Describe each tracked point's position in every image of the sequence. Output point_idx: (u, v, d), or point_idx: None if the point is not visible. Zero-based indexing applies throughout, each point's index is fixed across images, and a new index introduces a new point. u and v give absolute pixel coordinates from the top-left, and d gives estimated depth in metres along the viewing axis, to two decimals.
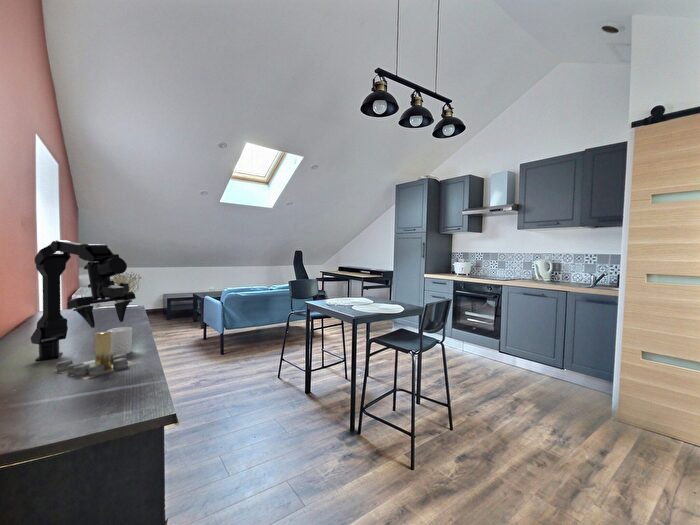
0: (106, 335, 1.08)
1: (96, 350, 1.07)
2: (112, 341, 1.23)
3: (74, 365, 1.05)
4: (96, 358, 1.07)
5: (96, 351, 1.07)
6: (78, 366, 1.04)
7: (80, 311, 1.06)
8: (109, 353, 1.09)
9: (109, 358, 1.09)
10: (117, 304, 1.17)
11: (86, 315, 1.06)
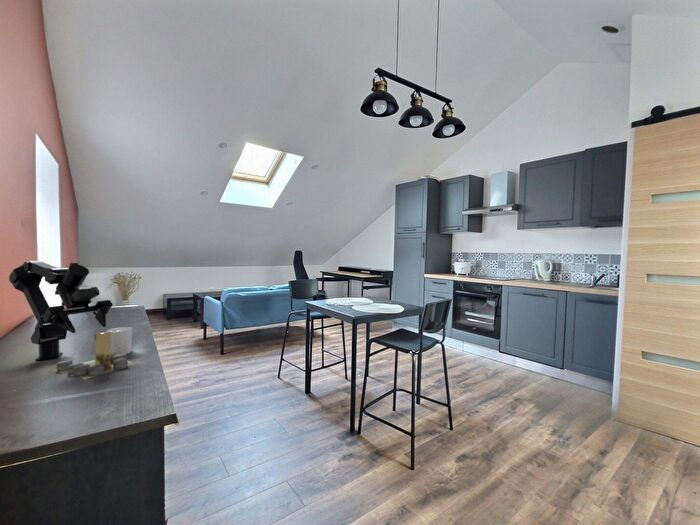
0: (106, 335, 1.08)
1: (96, 350, 1.07)
2: (112, 341, 1.23)
3: (74, 365, 1.05)
4: (96, 358, 1.07)
5: (96, 351, 1.07)
6: (78, 366, 1.04)
7: (58, 322, 1.08)
8: (109, 353, 1.09)
9: (109, 358, 1.09)
10: (97, 314, 1.19)
11: (64, 323, 1.08)
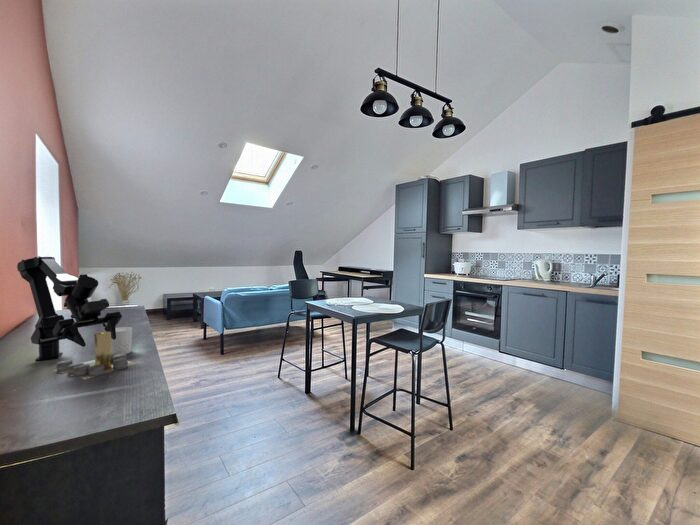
0: (106, 335, 1.08)
1: (96, 350, 1.07)
2: (112, 341, 1.23)
3: (74, 365, 1.05)
4: (96, 358, 1.07)
5: (96, 351, 1.07)
6: (78, 366, 1.04)
7: (68, 336, 1.06)
8: (109, 353, 1.09)
9: (109, 358, 1.09)
10: (106, 327, 1.17)
11: (74, 337, 1.06)
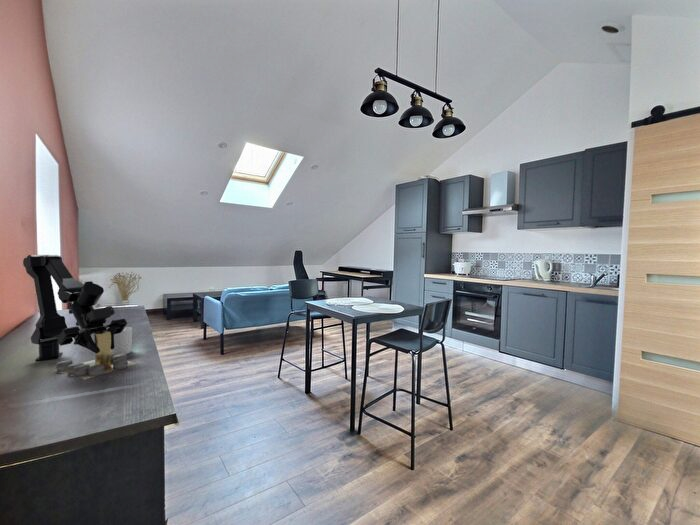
0: (106, 335, 1.08)
1: None
2: None
3: (74, 365, 1.05)
4: (96, 358, 1.07)
5: None
6: (78, 366, 1.04)
7: (81, 342, 1.07)
8: (109, 353, 1.09)
9: (109, 358, 1.09)
10: None
11: (87, 343, 1.07)
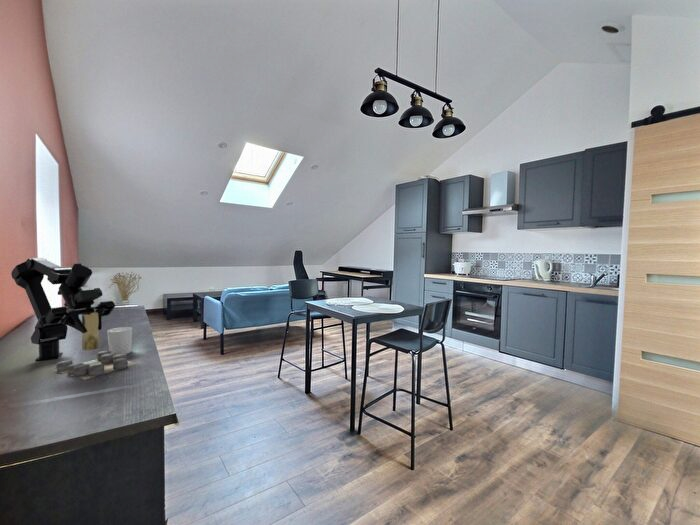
0: (93, 316, 1.11)
1: None
2: (112, 341, 1.23)
3: (74, 365, 1.05)
4: (83, 338, 1.10)
5: None
6: (78, 366, 1.04)
7: (68, 322, 1.10)
8: (96, 333, 1.12)
9: (96, 338, 1.12)
10: None
11: (75, 323, 1.09)
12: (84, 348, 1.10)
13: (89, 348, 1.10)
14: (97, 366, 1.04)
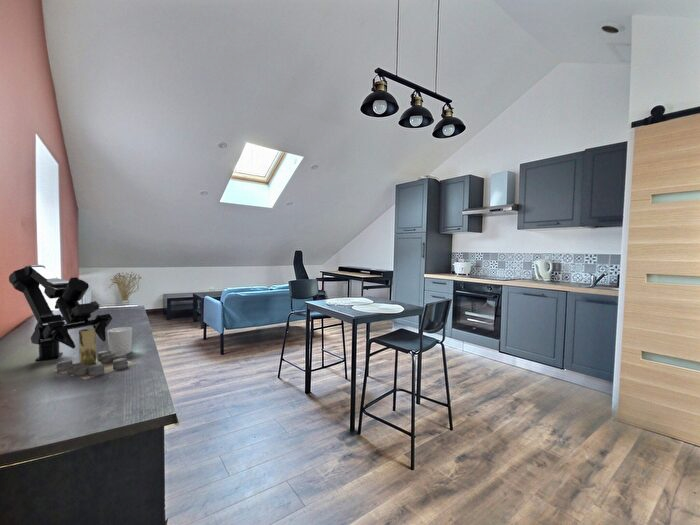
0: (90, 332, 1.12)
1: (80, 346, 1.11)
2: (112, 341, 1.23)
3: (74, 365, 1.05)
4: (80, 354, 1.11)
5: (80, 347, 1.11)
6: (78, 366, 1.04)
7: (58, 338, 1.08)
8: (93, 349, 1.13)
9: (93, 354, 1.13)
10: (96, 328, 1.19)
11: (64, 339, 1.08)
12: None
13: None
14: (97, 366, 1.04)
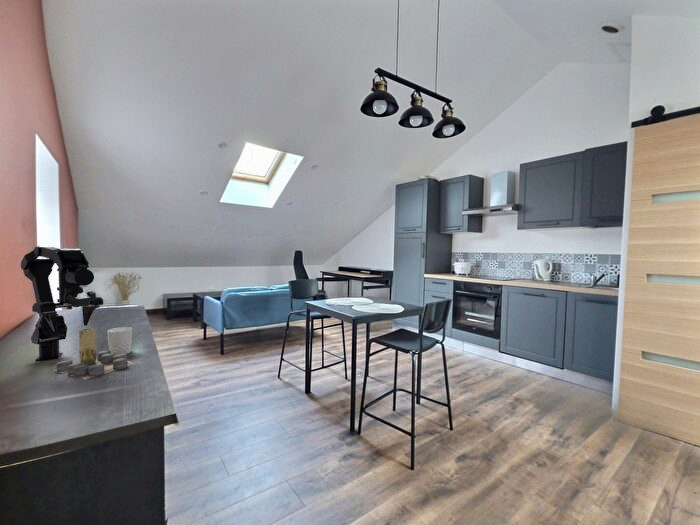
0: (90, 332, 1.12)
1: (81, 346, 1.11)
2: (112, 341, 1.23)
3: (74, 365, 1.05)
4: (81, 354, 1.11)
5: (81, 347, 1.11)
6: (78, 366, 1.04)
7: None
8: (93, 349, 1.13)
9: (93, 354, 1.13)
10: (84, 307, 1.20)
11: (49, 319, 1.10)
12: None
13: None
14: (97, 366, 1.04)
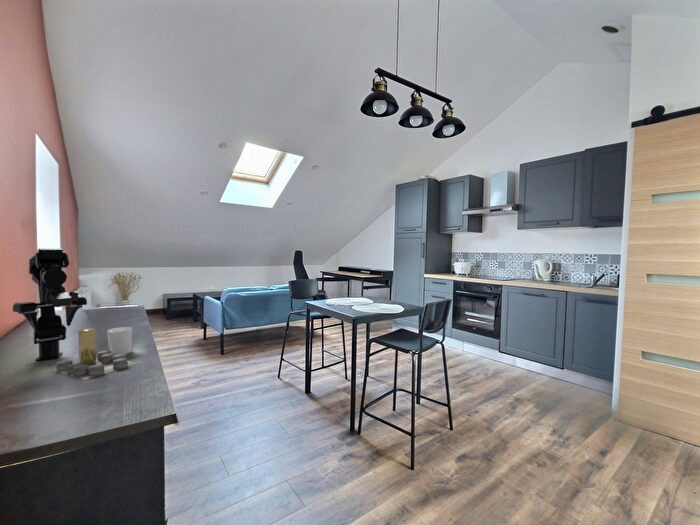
0: (89, 332, 1.12)
1: (80, 346, 1.11)
2: (112, 341, 1.23)
3: (74, 365, 1.05)
4: (80, 354, 1.11)
5: (80, 347, 1.11)
6: (78, 366, 1.04)
7: (25, 314, 1.09)
8: (93, 349, 1.13)
9: (93, 354, 1.13)
10: (67, 307, 1.19)
11: (30, 319, 1.09)
12: None
13: None
14: (97, 366, 1.04)
